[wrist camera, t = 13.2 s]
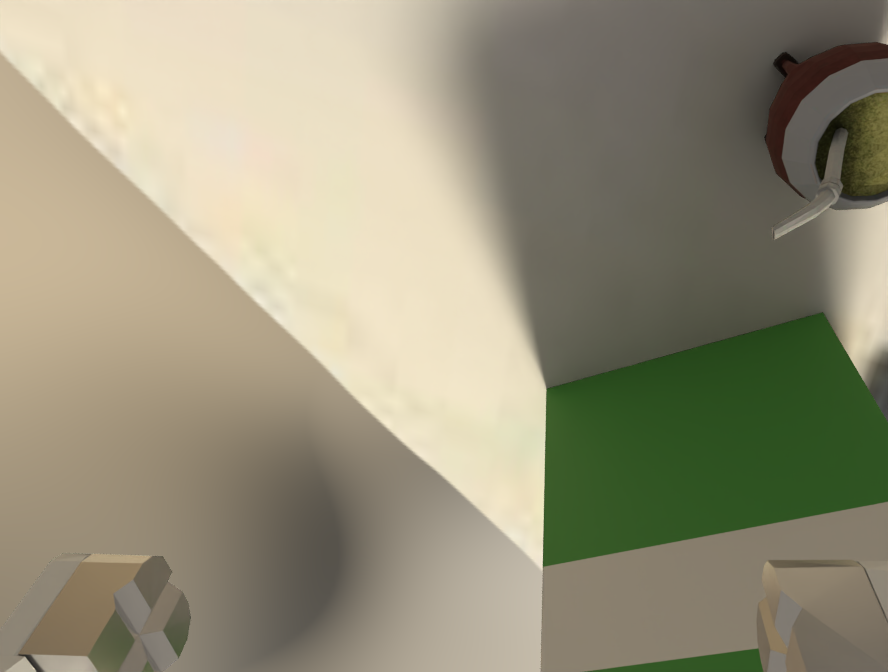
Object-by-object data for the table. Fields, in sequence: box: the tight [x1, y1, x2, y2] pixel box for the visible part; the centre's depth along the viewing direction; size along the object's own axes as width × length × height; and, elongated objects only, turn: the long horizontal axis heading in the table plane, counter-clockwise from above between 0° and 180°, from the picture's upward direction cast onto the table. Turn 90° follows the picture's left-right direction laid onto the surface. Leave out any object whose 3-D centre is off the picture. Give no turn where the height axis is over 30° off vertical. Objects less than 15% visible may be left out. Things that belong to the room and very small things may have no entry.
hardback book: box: [541, 312, 888, 672], centre depth 38 cm, size 18×7×24 cm, turn 115°
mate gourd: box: [765, 42, 888, 240], centre depth 30 cm, size 8×8×15 cm
